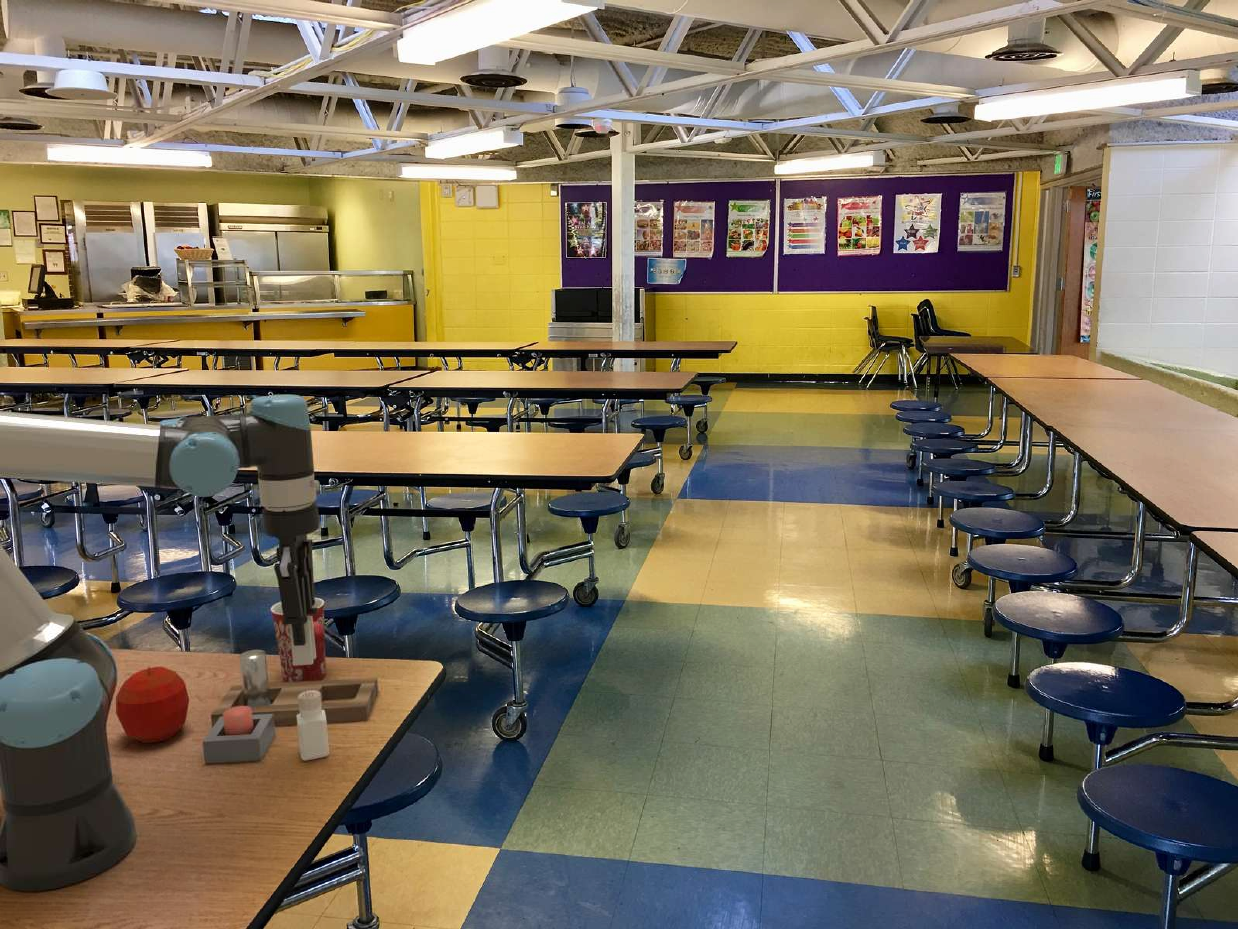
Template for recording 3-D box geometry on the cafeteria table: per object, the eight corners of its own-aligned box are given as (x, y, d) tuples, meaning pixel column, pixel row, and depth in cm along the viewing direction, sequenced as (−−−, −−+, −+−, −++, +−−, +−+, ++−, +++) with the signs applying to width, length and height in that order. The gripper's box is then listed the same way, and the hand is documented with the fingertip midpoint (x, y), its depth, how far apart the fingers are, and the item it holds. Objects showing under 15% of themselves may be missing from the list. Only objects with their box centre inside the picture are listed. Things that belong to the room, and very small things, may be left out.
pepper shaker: (301, 763, 138) (295, 702, 136) (299, 750, 142) (294, 691, 140) (329, 757, 140) (324, 697, 138) (327, 745, 143) (322, 687, 142)
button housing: (261, 760, 139) (258, 738, 139) (205, 763, 139) (202, 741, 138) (275, 734, 147) (273, 713, 146) (222, 737, 146) (220, 716, 146)
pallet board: (367, 720, 151) (365, 706, 151) (212, 729, 149) (210, 714, 149) (378, 691, 162) (377, 677, 161) (234, 699, 160) (232, 685, 159)
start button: (250, 748, 141) (247, 717, 140) (222, 750, 141) (219, 718, 140) (258, 735, 145) (254, 705, 144) (231, 737, 144) (227, 706, 143)
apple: (167, 715, 154) (159, 649, 152) (206, 729, 149) (198, 661, 147) (107, 742, 146) (97, 672, 144) (146, 757, 141) (137, 685, 138)
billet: (267, 716, 153) (261, 658, 151) (241, 718, 153) (235, 660, 151) (273, 705, 157) (268, 649, 155) (249, 707, 157) (243, 650, 155)
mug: (269, 676, 169) (262, 604, 166) (318, 662, 175) (312, 592, 172) (297, 699, 159) (289, 623, 157) (347, 684, 165) (341, 610, 162)
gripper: (305, 516, 127) (321, 680, 132) (326, 492, 141) (340, 641, 146) (247, 519, 126) (265, 683, 131) (275, 494, 140) (290, 644, 145)
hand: (304, 661), depth 138 cm, fingers closed
